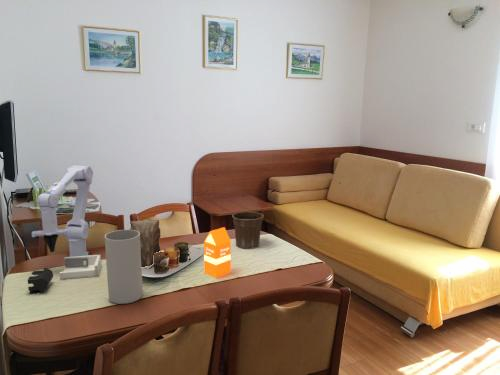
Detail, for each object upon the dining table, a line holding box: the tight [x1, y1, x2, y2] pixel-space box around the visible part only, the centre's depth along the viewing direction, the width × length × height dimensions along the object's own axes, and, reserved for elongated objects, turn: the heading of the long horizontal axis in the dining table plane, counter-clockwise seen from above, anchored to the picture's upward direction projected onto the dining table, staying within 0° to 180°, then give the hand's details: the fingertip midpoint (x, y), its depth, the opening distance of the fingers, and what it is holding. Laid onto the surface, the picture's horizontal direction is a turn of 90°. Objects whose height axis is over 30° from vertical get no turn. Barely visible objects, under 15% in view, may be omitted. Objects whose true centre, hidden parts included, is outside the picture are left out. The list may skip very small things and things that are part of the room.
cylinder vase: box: [104, 229, 144, 305], centre depth 157 cm, size 12×12×25 cm
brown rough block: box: [129, 218, 161, 267], centre depth 191 cm, size 13×13×20 cm
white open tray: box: [59, 254, 102, 281], centre depth 181 cm, size 13×15×5 cm
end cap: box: [27, 267, 54, 295], centre depth 165 cm, size 10×7×7 cm
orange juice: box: [203, 226, 232, 279], centre depth 180 cm, size 8×9×20 cm
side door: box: [64, 257, 88, 267], centre depth 184 cm, size 10×2×4 cm, turn 95°
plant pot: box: [231, 211, 264, 250], centre depth 216 cm, size 16×16×16 cm
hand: (52, 251), depth 180 cm, fingers closed
